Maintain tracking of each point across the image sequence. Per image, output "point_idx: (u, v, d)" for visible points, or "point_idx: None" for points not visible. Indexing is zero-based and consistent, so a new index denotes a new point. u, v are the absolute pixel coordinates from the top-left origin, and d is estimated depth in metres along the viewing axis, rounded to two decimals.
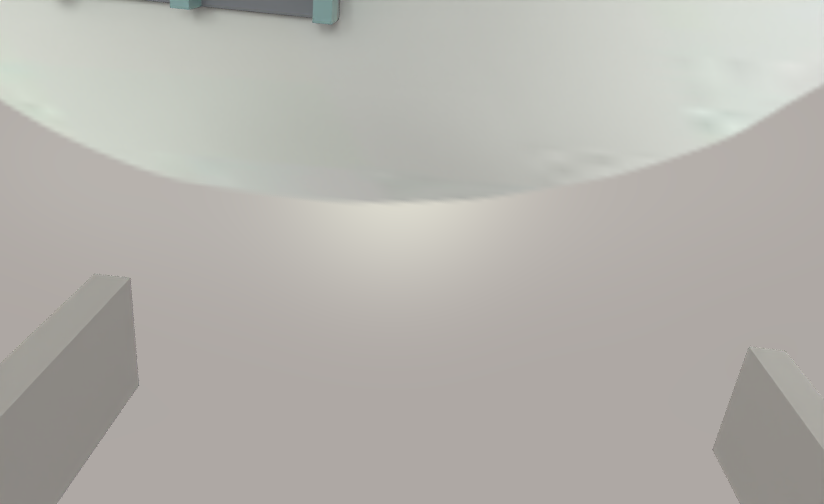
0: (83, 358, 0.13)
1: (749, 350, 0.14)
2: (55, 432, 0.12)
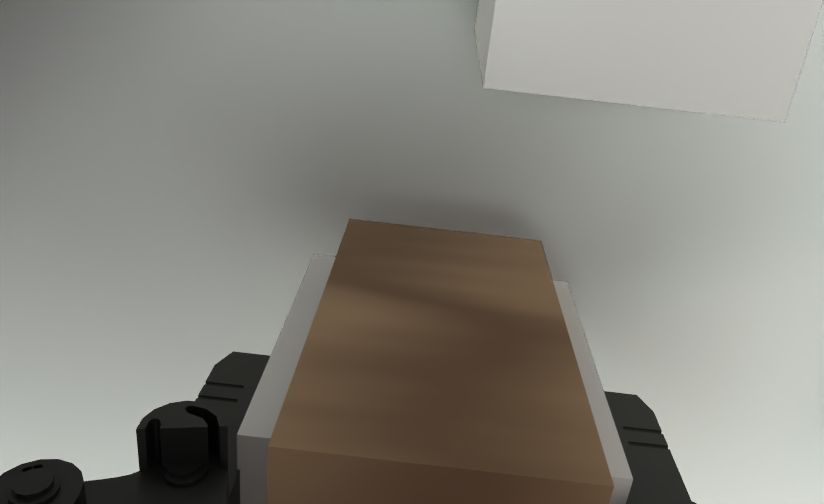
0: None
1: None
2: None
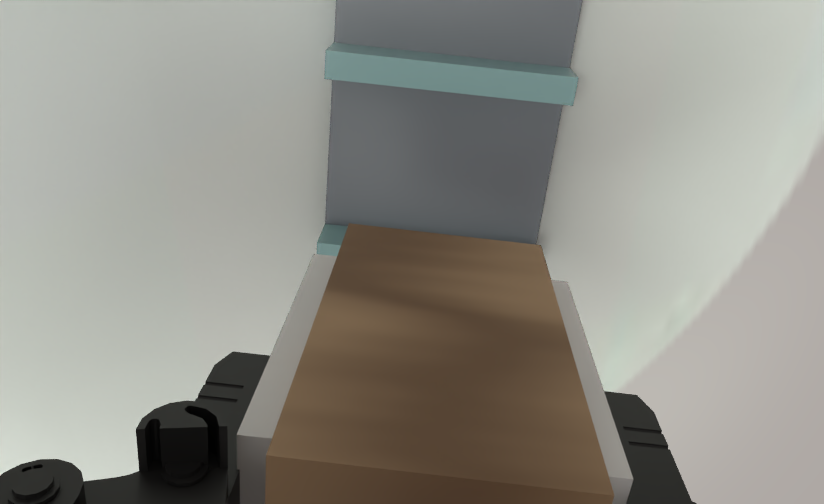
0: None
1: None
2: None
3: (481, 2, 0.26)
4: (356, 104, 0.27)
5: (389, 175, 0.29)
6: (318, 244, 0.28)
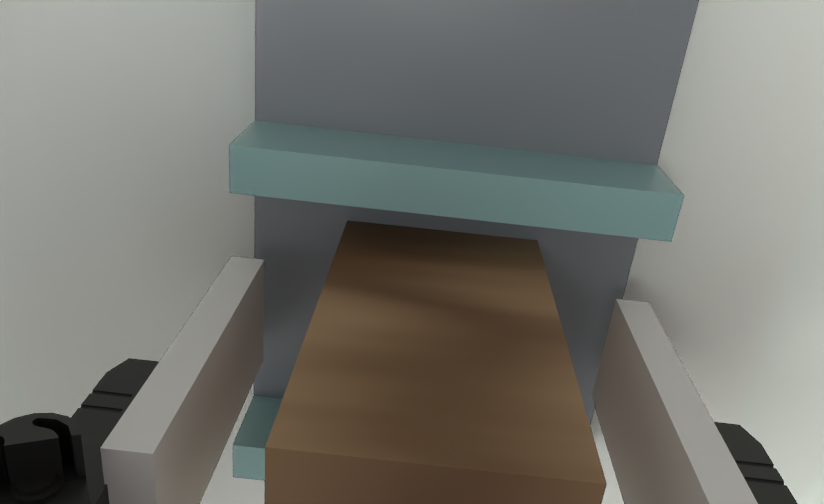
0: (238, 330, 0.14)
1: (616, 302, 0.16)
2: (221, 395, 0.13)
3: (507, 55, 0.15)
4: (296, 219, 0.16)
5: None
6: (234, 447, 0.17)
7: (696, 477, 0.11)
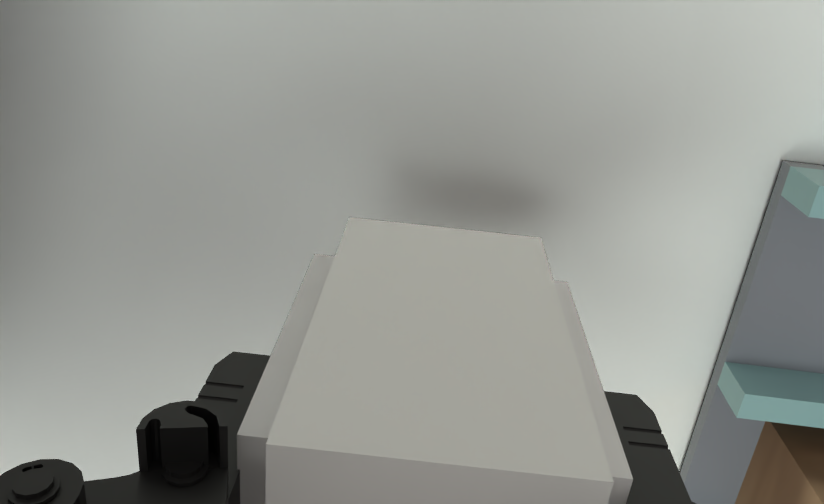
0: None
1: None
2: None
3: None
4: (734, 415, 0.26)
5: None
6: None
7: None
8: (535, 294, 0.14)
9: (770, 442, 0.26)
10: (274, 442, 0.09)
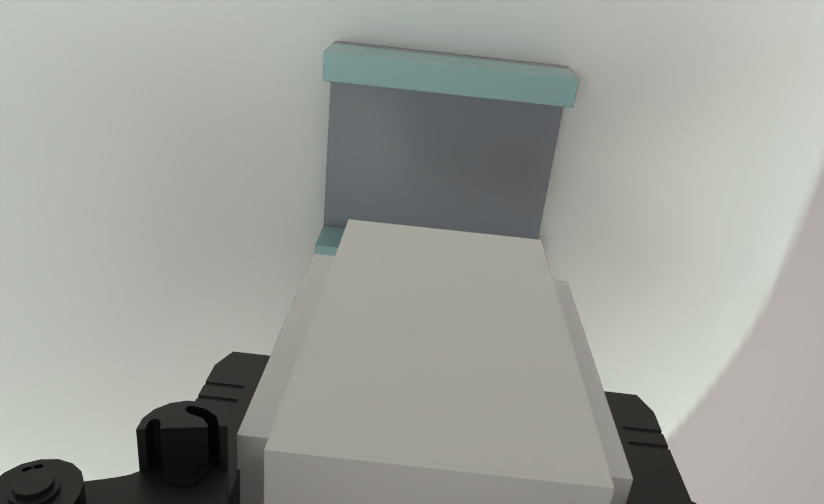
0: None
1: None
2: None
3: (455, 195, 0.29)
4: None
5: None
6: None
7: None
8: (536, 298, 0.13)
9: None
10: (272, 448, 0.09)
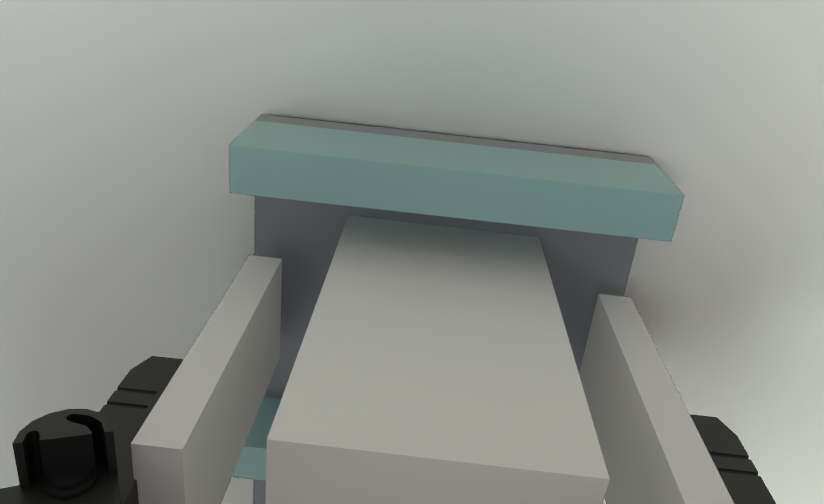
0: (258, 328, 0.14)
1: (598, 297, 0.16)
2: (243, 392, 0.13)
3: None
4: None
5: None
6: None
7: (669, 467, 0.11)
8: (533, 293, 0.14)
9: None
10: (275, 437, 0.09)
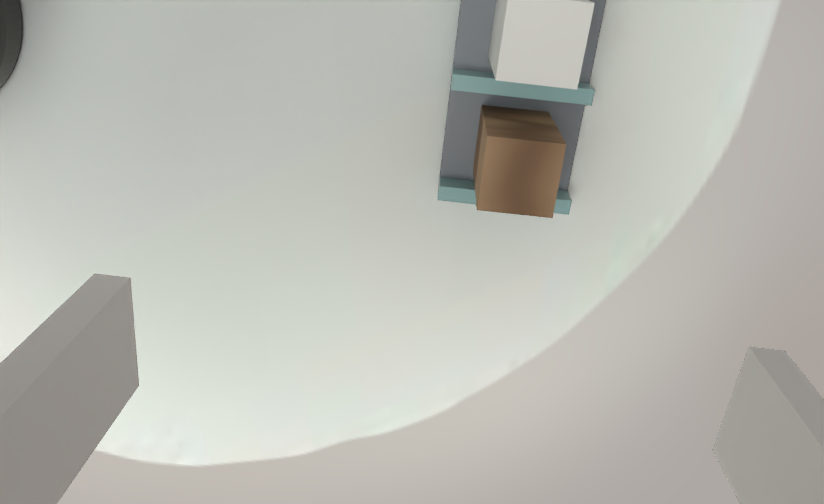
0: (83, 358, 0.13)
1: (749, 350, 0.14)
2: (55, 432, 0.12)
3: None
4: (463, 104, 0.47)
5: None
6: (440, 187, 0.47)
7: None
8: None
9: (480, 116, 0.46)
10: None
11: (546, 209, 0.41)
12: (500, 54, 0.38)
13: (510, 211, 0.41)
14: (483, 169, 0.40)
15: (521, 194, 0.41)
